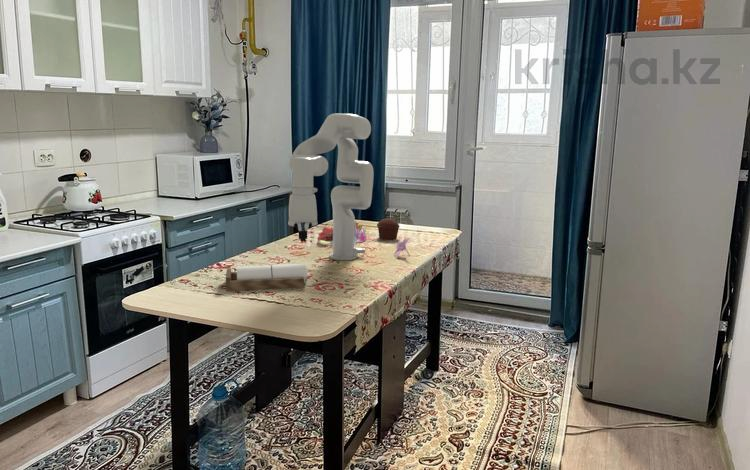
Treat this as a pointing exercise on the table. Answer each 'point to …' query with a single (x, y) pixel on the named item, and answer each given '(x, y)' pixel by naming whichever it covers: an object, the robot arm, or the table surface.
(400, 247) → the lily
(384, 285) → the table surface
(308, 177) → the robot arm
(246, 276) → the cylindrical container
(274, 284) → the U-rest
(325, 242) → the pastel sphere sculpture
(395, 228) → the muffin
